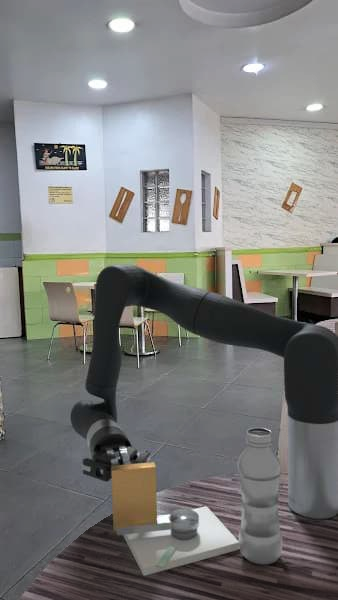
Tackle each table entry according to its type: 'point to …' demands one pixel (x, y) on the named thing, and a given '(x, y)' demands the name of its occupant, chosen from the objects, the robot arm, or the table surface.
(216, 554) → the base plate
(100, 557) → the table surface
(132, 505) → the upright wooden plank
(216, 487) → the table surface
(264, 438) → the plastic bottle
